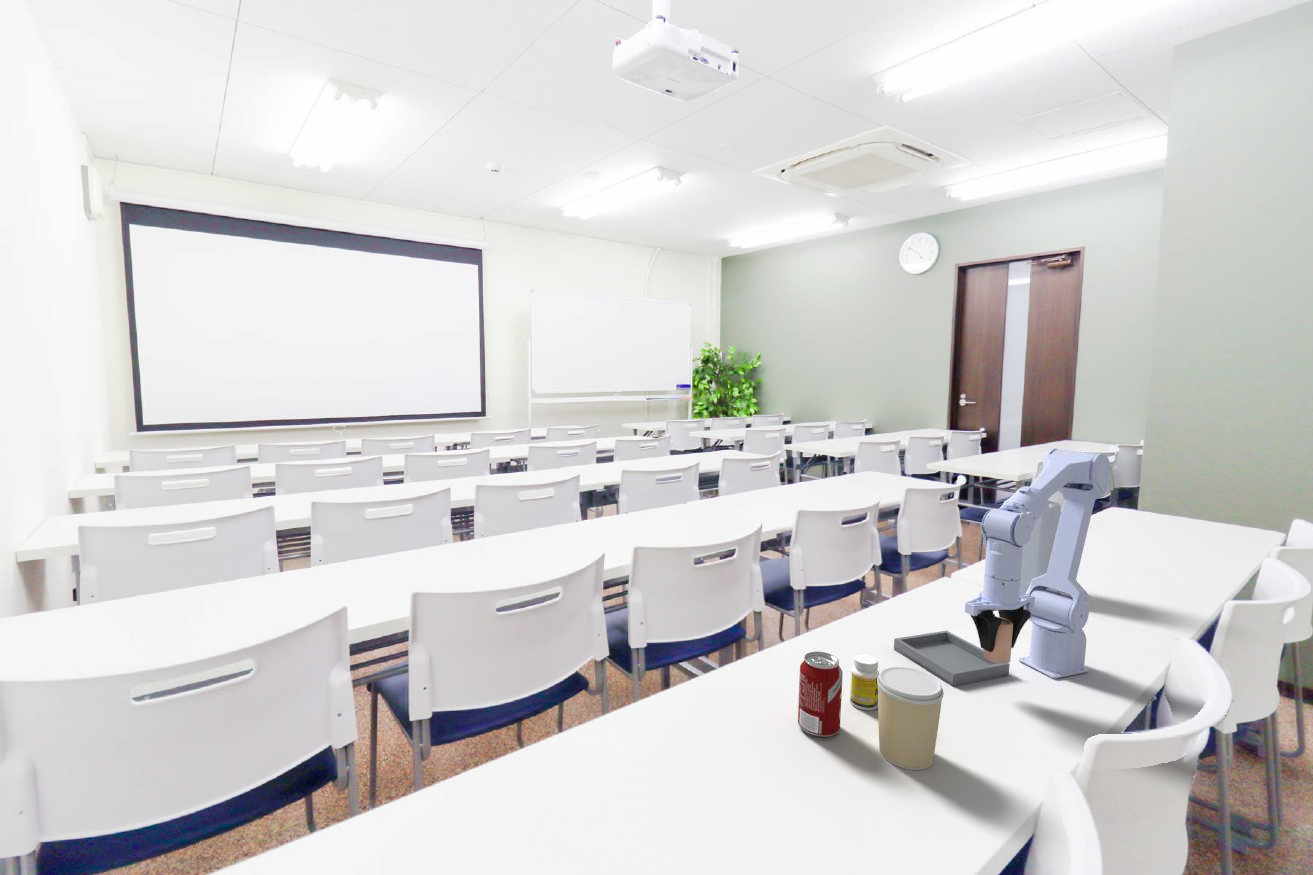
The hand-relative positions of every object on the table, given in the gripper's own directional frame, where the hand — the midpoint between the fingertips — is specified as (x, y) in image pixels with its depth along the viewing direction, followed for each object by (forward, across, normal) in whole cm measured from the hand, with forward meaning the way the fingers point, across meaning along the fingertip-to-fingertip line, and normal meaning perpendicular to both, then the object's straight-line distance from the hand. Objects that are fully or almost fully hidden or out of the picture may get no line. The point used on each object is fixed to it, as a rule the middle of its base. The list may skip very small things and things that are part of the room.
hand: (997, 647), depth 110 cm
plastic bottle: (+9, -55, -39) cm, 68 cm away
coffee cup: (+9, +28, +10) cm, 31 cm away
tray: (+9, -2, -12) cm, 15 cm away
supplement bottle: (+9, +25, -4) cm, 27 cm away
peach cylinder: (+2, 0, 0) cm, 2 cm away
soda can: (+9, +37, -1) cm, 38 cm away
